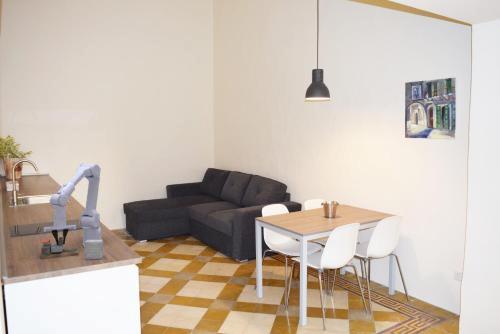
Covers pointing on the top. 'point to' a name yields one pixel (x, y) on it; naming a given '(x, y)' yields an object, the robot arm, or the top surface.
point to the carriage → (57, 246)
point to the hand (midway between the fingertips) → (60, 244)
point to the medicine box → (93, 249)
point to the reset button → (46, 241)
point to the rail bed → (66, 252)
